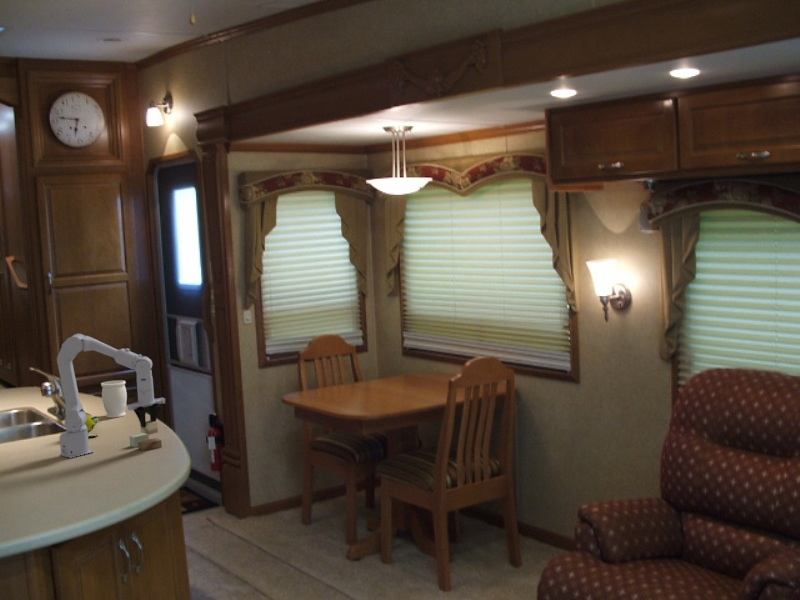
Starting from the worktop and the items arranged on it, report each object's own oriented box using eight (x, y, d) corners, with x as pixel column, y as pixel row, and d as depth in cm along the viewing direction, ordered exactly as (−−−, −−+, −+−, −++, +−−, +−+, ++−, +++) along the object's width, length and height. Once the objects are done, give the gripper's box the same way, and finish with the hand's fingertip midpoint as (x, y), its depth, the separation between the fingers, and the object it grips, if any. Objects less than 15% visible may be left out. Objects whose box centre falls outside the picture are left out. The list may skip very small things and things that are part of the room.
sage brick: (134, 447, 338) (134, 437, 338) (130, 446, 341) (129, 436, 340) (149, 444, 343) (148, 434, 342) (144, 443, 345) (143, 432, 345)
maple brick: (157, 432, 335) (157, 422, 334) (149, 434, 332) (148, 423, 332) (149, 430, 339) (148, 420, 339) (141, 432, 337) (140, 421, 336)
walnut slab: (143, 451, 332) (143, 443, 332) (138, 449, 336) (138, 441, 336) (161, 448, 337) (161, 440, 336) (156, 445, 341) (155, 437, 340)
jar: (102, 415, 399) (99, 381, 397) (126, 412, 403) (123, 379, 401) (105, 419, 389) (102, 385, 388) (130, 416, 393) (127, 382, 392)
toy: (82, 434, 382) (71, 440, 353) (79, 411, 382) (68, 415, 353) (104, 431, 384) (95, 436, 355) (101, 408, 384) (92, 411, 355)
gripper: (133, 394, 326) (136, 431, 328) (168, 387, 337) (171, 423, 338) (123, 392, 331) (126, 428, 333) (158, 385, 342) (161, 420, 343)
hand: (148, 425), depth 336 cm, fingers closed on maple brick, 3 cm apart
